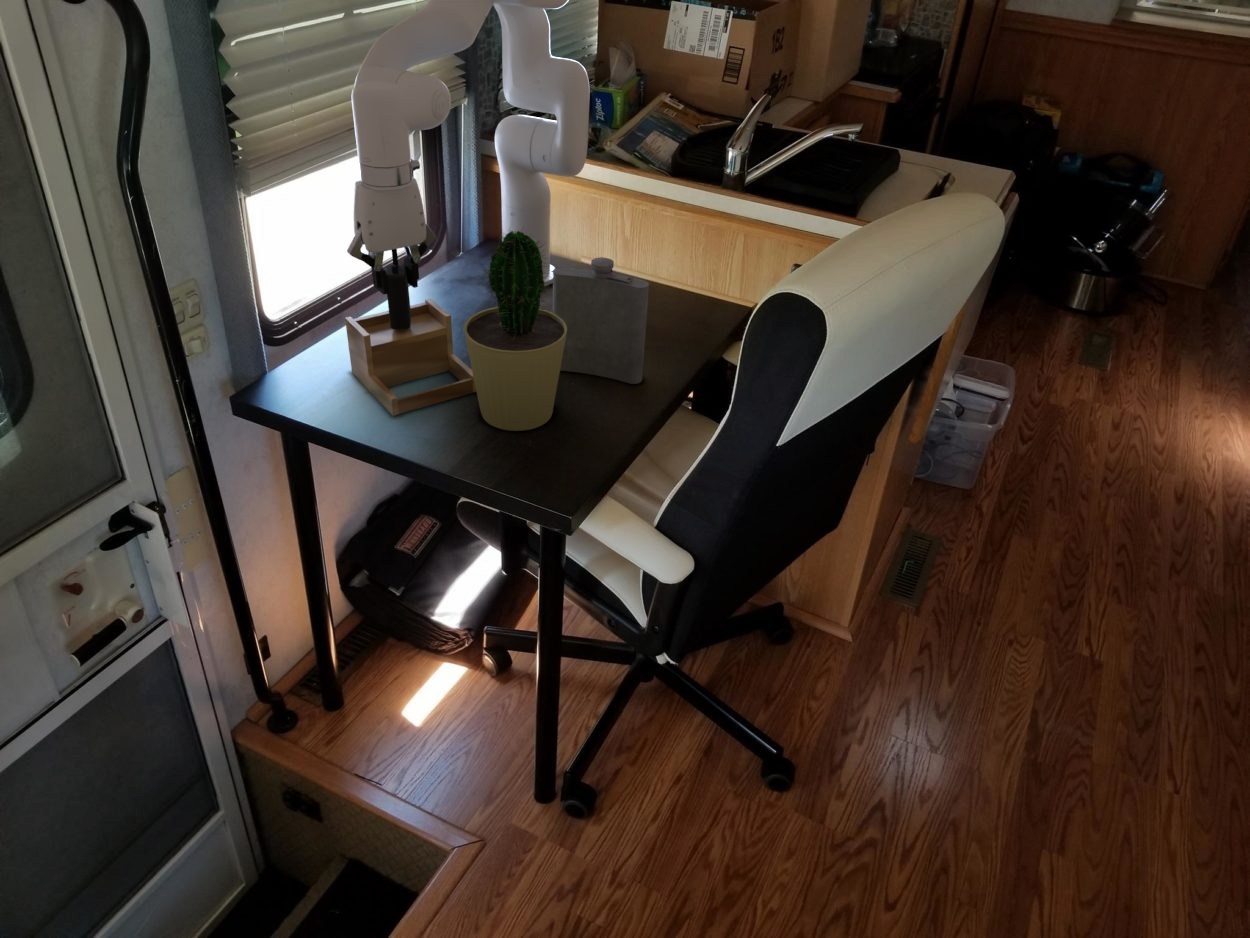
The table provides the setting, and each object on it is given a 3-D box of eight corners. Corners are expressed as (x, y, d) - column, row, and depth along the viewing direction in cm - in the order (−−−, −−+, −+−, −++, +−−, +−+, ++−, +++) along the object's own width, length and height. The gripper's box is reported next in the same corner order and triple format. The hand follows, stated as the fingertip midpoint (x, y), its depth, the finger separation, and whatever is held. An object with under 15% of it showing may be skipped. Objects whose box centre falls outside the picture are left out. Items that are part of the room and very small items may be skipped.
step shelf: (351, 372, 155) (344, 317, 149) (434, 351, 162) (430, 298, 157) (392, 416, 144) (387, 359, 139) (478, 391, 152) (476, 336, 146)
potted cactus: (470, 386, 153) (462, 208, 136) (564, 387, 154) (568, 211, 137) (463, 438, 140) (454, 248, 123) (566, 438, 142) (570, 251, 125)
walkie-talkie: (410, 329, 149) (401, 240, 141) (388, 330, 149) (378, 240, 140) (411, 315, 153) (403, 228, 144) (390, 316, 153) (380, 228, 144)
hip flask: (549, 368, 159) (550, 258, 148) (557, 358, 163) (558, 249, 151) (639, 385, 156) (647, 273, 145) (645, 374, 160) (653, 264, 148)
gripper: (426, 157, 144) (434, 269, 154) (320, 173, 135) (336, 290, 146) (449, 171, 139) (455, 285, 149) (340, 189, 130) (355, 308, 141)
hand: (396, 286), depth 147 cm, fingers closed on walkie-talkie, 4 cm apart
